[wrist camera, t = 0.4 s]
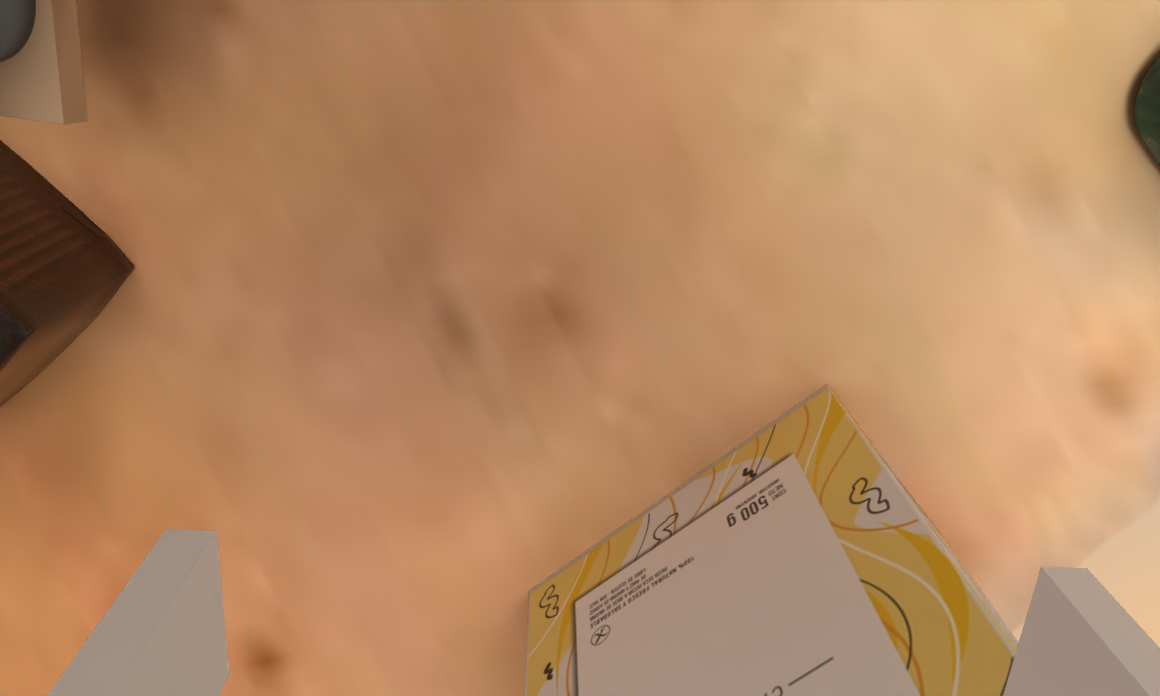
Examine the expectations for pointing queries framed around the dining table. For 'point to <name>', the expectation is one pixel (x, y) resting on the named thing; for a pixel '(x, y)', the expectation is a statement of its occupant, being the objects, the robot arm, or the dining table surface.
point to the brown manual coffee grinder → (46, 272)
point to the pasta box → (772, 584)
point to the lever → (41, 61)
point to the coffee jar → (1150, 110)
